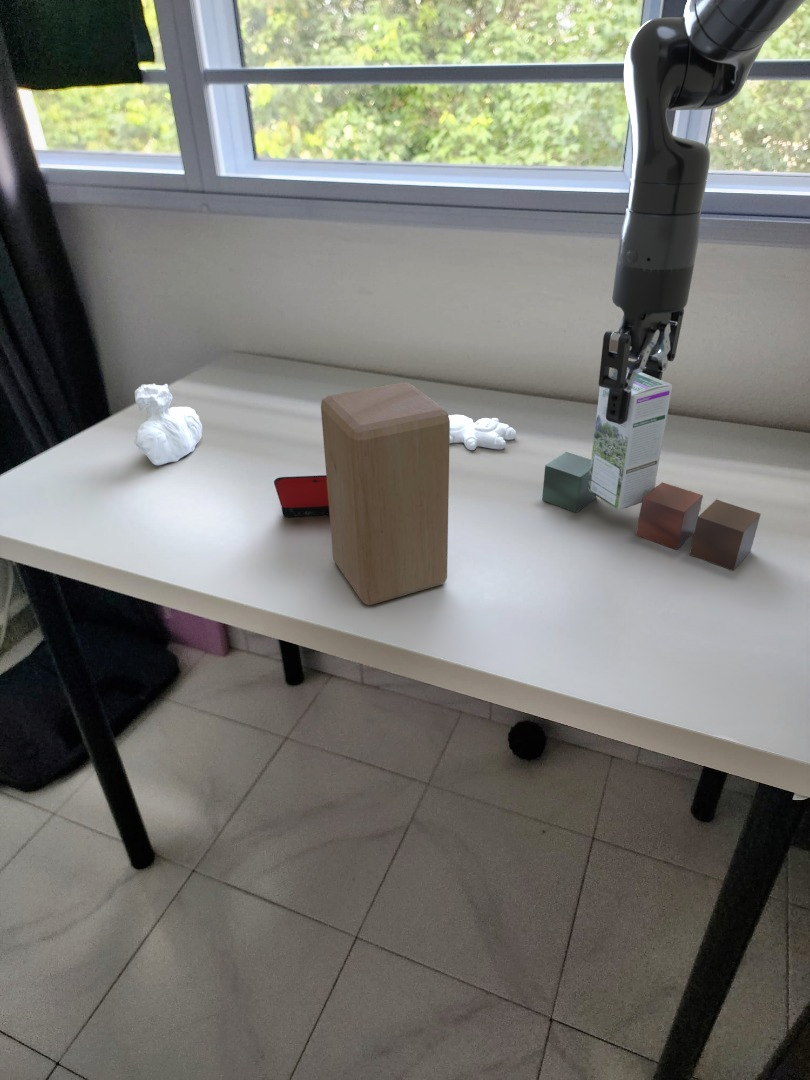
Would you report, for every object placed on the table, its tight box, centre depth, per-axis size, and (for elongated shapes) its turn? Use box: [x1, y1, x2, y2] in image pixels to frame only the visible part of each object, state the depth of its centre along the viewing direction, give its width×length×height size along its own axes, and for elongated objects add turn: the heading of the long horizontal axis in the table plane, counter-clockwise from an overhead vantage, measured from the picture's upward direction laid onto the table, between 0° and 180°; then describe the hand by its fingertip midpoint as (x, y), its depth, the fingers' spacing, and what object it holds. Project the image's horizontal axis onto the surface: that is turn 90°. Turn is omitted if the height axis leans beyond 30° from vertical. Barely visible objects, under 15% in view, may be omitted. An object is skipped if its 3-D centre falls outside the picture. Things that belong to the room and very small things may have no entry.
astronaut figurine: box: [448, 414, 517, 451], centre depth 111 cm, size 9×12×3 cm
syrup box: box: [588, 370, 673, 510], centre depth 86 cm, size 6×6×14 cm
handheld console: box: [273, 474, 330, 518], centre depth 93 cm, size 12×11×7 cm
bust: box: [134, 383, 203, 466], centre depth 107 cm, size 12×8×11 cm
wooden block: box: [320, 381, 450, 606], centre depth 77 cm, size 10×10×20 cm
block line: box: [541, 451, 762, 571], centre depth 89 cm, size 24×5×5 cm, turn 49°
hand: (632, 410), depth 84 cm, fingers closed on syrup box, 7 cm apart
